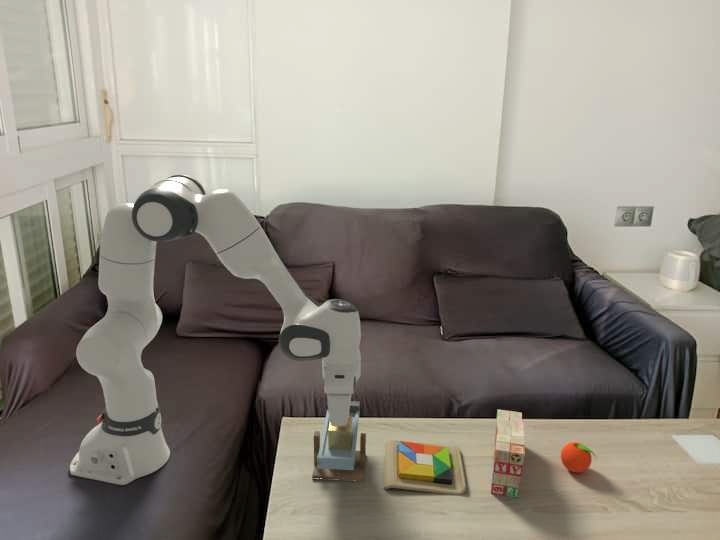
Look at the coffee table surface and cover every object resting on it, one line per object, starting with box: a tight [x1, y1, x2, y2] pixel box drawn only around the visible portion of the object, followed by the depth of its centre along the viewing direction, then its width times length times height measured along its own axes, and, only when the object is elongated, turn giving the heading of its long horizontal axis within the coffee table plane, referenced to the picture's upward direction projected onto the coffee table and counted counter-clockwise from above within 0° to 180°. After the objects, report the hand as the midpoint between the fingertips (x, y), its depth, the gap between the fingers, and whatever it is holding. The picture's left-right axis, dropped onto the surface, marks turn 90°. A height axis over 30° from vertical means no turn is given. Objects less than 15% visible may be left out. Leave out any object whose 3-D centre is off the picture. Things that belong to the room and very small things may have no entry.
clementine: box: [560, 441, 597, 473], centre depth 136 cm, size 8×7×7 cm
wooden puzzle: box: [382, 439, 467, 496], centre depth 137 cm, size 18×19×4 cm
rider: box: [328, 416, 353, 450], centre depth 131 cm, size 6×5×5 cm
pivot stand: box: [311, 430, 367, 482], centre depth 136 cm, size 10×12×9 cm
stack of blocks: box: [490, 409, 526, 499], centre depth 136 cm, size 21×6×12 cm, turn 165°
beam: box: [317, 400, 361, 470], centre depth 134 cm, size 22×8×3 cm, turn 177°
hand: (342, 420), depth 134 cm, fingers closed
